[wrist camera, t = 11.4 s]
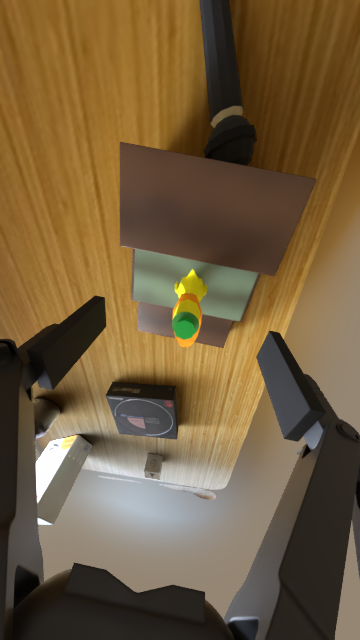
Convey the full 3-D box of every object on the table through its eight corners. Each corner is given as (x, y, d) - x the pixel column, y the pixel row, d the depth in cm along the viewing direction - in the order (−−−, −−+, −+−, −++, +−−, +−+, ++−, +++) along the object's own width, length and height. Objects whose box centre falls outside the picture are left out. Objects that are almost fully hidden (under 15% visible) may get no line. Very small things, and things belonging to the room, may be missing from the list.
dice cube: (162, 455, 65) (159, 473, 61) (162, 462, 68) (159, 479, 63) (148, 453, 65) (144, 470, 61) (148, 460, 68) (145, 477, 64)
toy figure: (203, 310, 26) (202, 375, 16) (177, 307, 26) (159, 371, 16) (209, 260, 22) (212, 302, 12) (179, 258, 23) (158, 297, 12)
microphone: (185, -44, 19) (217, 187, 26) (154, -129, 14) (203, 180, 21) (242, -106, 16) (260, 171, 23) (226, -237, 11) (254, 159, 19)
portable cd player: (124, 421, 57) (119, 434, 54) (112, 382, 48) (105, 395, 45) (178, 426, 55) (176, 440, 52) (175, 386, 46) (173, 400, 43)
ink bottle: (29, 393, 55) (-11, 435, 45) (58, 399, 55) (24, 443, 45) (36, 412, 60) (2, 454, 50) (63, 418, 60) (34, 461, 50)
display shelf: (154, 169, 25) (119, 141, 15) (271, 191, 25) (317, 178, 15) (143, 319, 38) (119, 360, 27) (221, 335, 37) (227, 383, 27)
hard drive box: (78, 433, 64) (32, 514, 47) (93, 444, 67) (55, 525, 50) (50, 440, 69) (-1, 516, 52) (65, 451, 72) (21, 525, 55)
